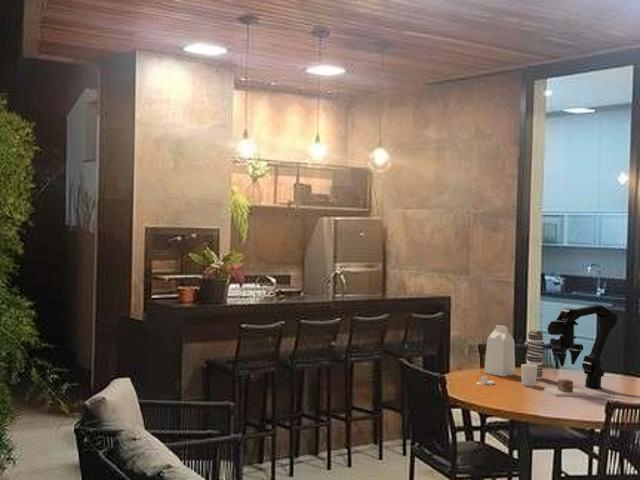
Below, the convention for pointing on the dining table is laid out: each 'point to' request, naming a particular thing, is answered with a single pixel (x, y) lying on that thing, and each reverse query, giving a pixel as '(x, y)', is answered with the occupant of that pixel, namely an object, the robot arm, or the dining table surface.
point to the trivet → (559, 393)
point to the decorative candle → (535, 350)
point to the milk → (500, 353)
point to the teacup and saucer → (485, 380)
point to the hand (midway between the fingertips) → (567, 365)
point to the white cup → (528, 374)
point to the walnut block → (565, 385)
